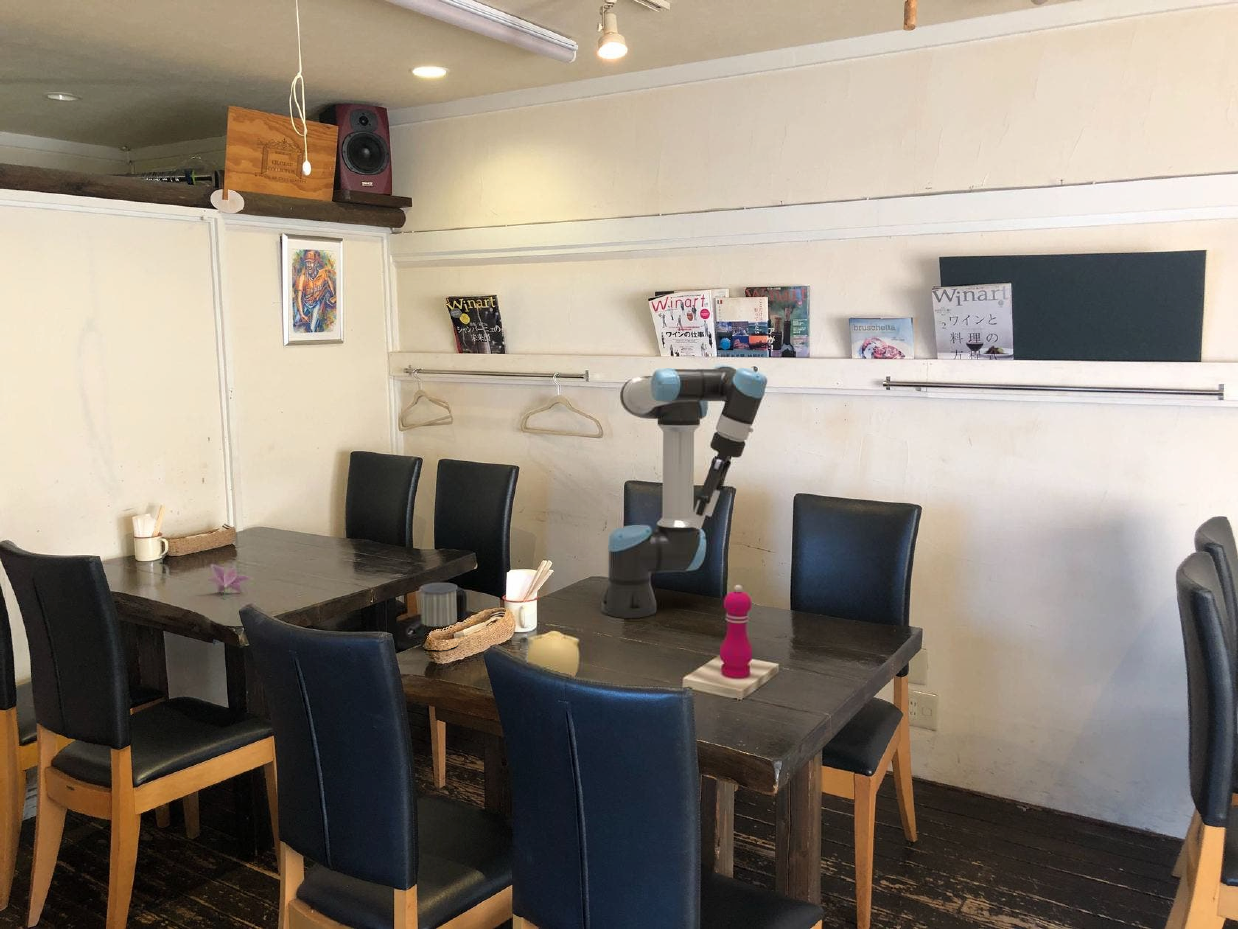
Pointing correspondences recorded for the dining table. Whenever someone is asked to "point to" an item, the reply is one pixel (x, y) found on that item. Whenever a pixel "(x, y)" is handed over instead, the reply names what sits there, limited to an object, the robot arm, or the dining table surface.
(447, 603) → the milk frother
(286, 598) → the dining table surface
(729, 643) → the pepper mill
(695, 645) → the dining table surface
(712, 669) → the serving board
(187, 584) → the dining table surface
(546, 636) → the sculpture
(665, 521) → the robot arm
